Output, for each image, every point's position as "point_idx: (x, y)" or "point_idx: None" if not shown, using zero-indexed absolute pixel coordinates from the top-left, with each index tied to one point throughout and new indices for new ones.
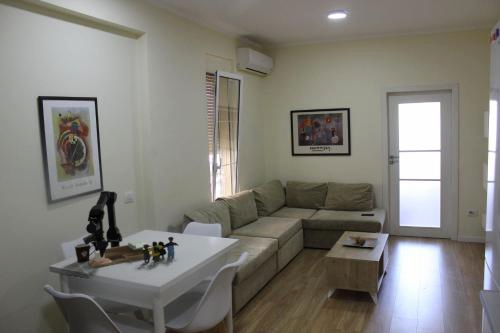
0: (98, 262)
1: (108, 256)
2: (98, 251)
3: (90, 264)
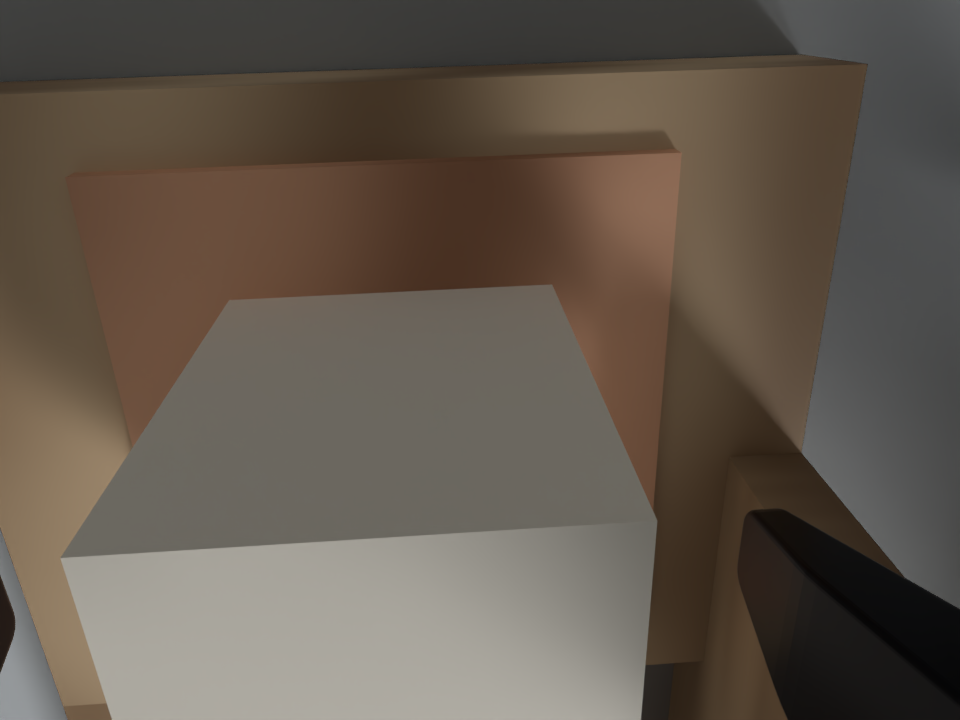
0: (177, 341)
1: (706, 709)
2: (427, 709)
3: (524, 67)
